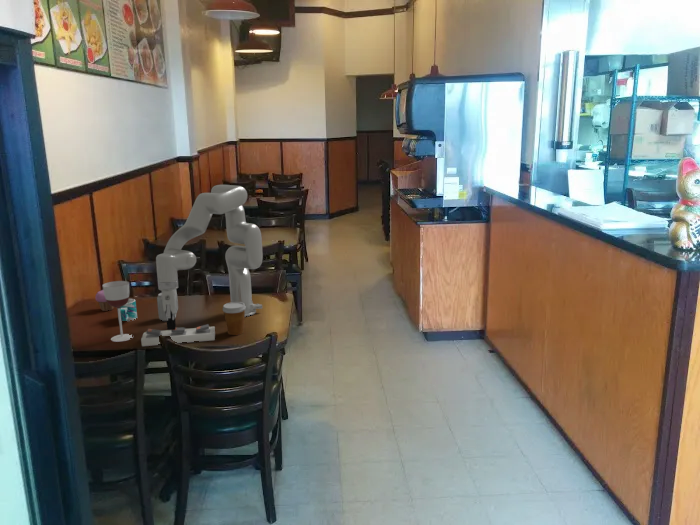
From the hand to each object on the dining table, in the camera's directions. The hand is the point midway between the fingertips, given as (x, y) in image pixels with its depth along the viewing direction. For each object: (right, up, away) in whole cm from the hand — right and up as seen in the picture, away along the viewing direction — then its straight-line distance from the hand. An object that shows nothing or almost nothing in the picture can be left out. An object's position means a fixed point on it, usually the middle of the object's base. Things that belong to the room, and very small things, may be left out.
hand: (171, 328), depth 230 cm
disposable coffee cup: (+24, -3, +10) cm, 26 cm away
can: (-11, +1, +28) cm, 30 cm away
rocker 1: (-7, -1, -1) cm, 7 cm away
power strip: (+2, -5, +3) cm, 6 cm away
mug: (-29, 0, +28) cm, 40 cm away
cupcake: (-44, +4, +43) cm, 62 cm away
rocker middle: (+2, -1, +1) cm, 3 cm away
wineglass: (-22, -5, +6) cm, 24 cm away
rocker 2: (+12, 0, +3) cm, 12 cm away
